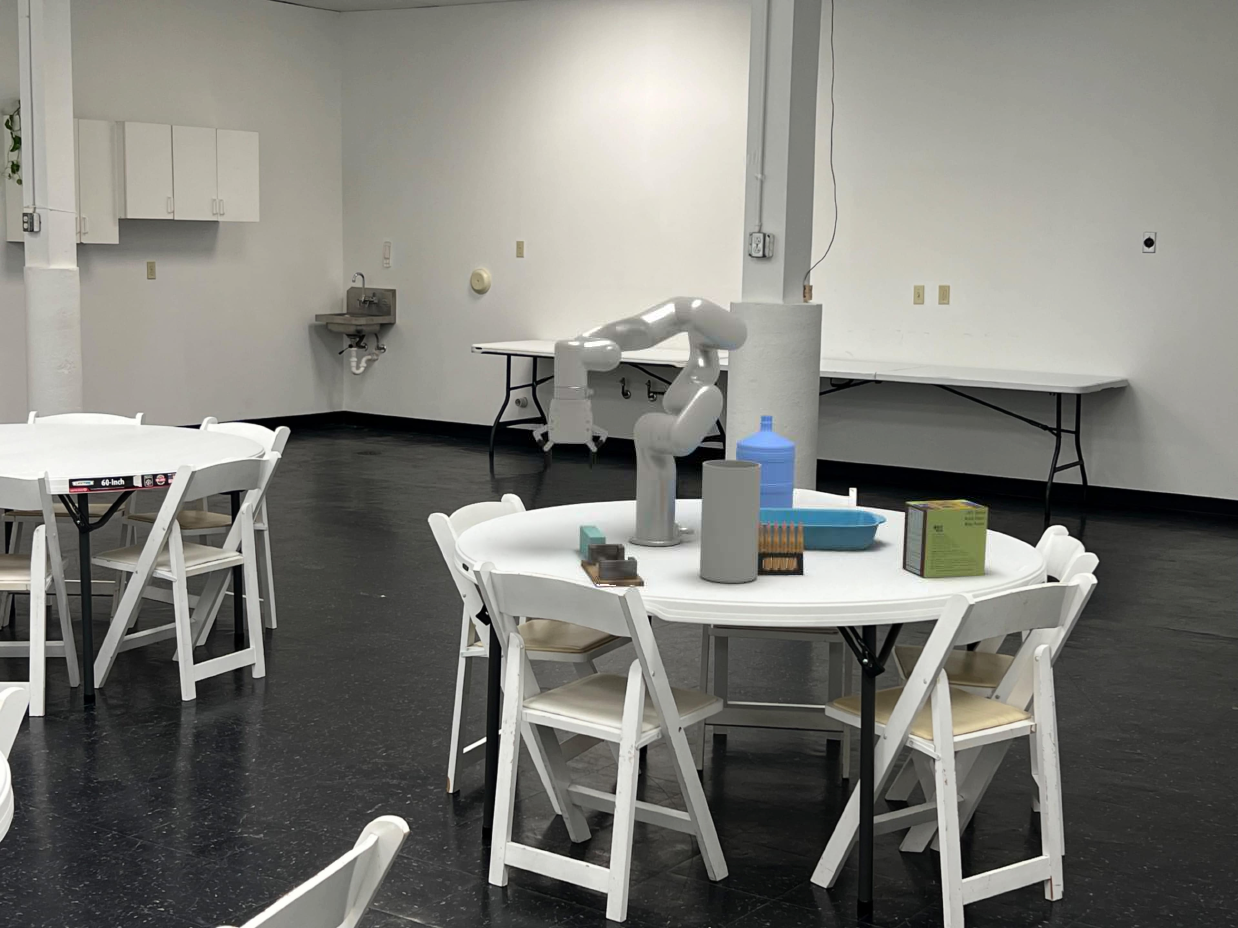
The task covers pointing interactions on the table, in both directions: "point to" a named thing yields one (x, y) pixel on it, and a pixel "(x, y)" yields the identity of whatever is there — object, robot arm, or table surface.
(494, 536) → the table surface
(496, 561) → the table surface
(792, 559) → the ammunition clip
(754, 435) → the water jug
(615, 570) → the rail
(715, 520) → the cylinder vase
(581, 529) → the teal long block
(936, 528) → the protein box
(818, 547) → the casserole dish
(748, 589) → the table surface
